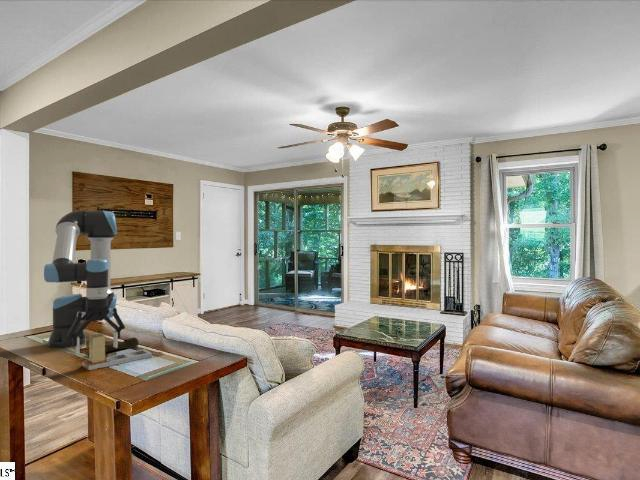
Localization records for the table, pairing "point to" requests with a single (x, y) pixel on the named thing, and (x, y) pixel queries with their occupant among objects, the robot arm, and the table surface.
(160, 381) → the table surface
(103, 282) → the robot arm
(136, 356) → the triple square frame
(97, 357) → the brass post
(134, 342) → the hand tool
